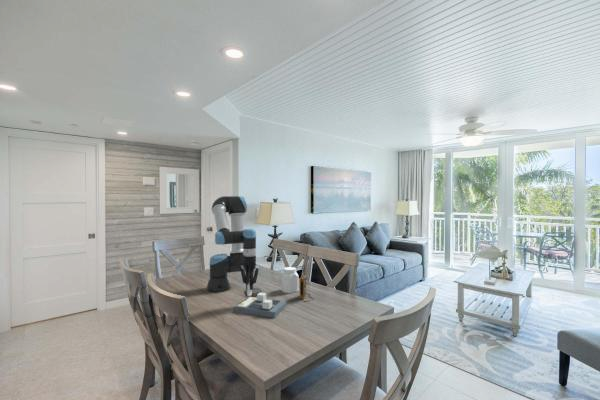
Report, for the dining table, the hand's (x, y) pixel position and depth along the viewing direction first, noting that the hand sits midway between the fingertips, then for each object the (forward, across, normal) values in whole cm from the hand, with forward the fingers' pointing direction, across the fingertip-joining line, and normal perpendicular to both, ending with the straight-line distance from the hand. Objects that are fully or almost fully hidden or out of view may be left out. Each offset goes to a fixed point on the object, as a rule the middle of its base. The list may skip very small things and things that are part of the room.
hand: (249, 295), depth 164 cm
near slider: (+2, +16, -9) cm, 18 cm away
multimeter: (+6, +30, +22) cm, 37 cm away
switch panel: (+5, +10, -4) cm, 12 cm away
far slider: (+2, +8, 0) cm, 8 cm away
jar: (+6, +14, +31) cm, 34 cm away
